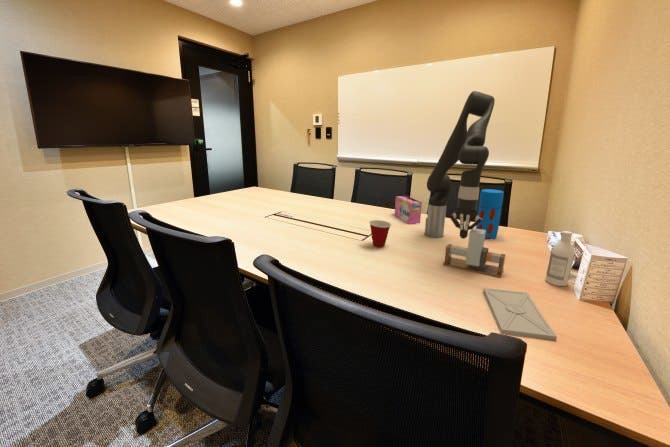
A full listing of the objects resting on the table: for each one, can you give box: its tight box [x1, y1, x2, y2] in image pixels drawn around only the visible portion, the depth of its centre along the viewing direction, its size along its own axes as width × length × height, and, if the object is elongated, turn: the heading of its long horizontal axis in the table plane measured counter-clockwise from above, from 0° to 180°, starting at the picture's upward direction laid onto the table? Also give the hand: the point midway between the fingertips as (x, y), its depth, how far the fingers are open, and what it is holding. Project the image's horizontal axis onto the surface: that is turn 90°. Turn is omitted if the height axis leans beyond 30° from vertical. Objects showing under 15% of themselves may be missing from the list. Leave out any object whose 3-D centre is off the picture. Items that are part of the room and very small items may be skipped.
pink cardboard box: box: [394, 194, 423, 225], centre depth 201 cm, size 24×8×14 cm, turn 13°
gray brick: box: [479, 247, 490, 265], centre depth 127 cm, size 2×5×5 cm, turn 147°
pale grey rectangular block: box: [465, 227, 486, 266], centre depth 128 cm, size 5×6×14 cm
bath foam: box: [545, 230, 575, 287], centre depth 115 cm, size 7×7×20 cm
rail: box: [442, 243, 506, 279], centre depth 129 cm, size 22×9×8 cm, turn 57°
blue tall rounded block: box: [475, 188, 505, 240], centre depth 165 cm, size 11×11×25 cm
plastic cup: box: [368, 219, 392, 248], centre depth 154 cm, size 11×11×12 cm
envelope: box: [482, 287, 558, 341], centre depth 97 cm, size 24×2×14 cm
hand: (463, 237), depth 130 cm, fingers closed
